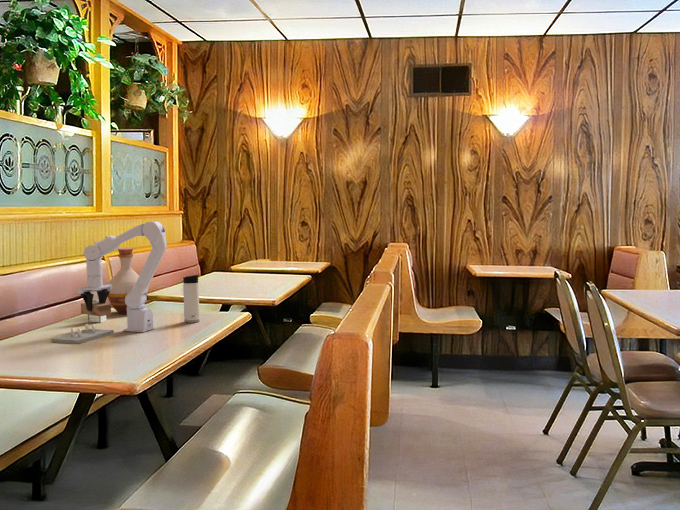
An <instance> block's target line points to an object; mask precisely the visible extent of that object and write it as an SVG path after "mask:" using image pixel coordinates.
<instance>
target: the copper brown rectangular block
mask: <svg viewBox="0 0 680 510" xmlns="http://www.w3.org/2000/svg"><path fill="white" fill-rule="evenodd" d="M80 314H83V315H87V316H88V315H95V316H105V315H106V316H111V315H112V305H111V304H110V303H106V304H104V303H96V302H92V311H88V310H87V307H86V304H85V302H84V303H83V302H81V303H80Z"/></svg>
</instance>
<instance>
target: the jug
mask: <svg viewBox="0 0 680 510" xmlns="http://www.w3.org/2000/svg"><path fill="white" fill-rule="evenodd" d="M133 250H134V248H133V247H132V246H131V247H130V246H129V247H128V246H127V247H125V246H124V247H119V248H118V249H117V251H118V255H117V257H118V258H119V262H120V269H119V270H118V271H117V273H115V275H113V277H112V278H111V279H110V280H109V281H108V282H107V284H106V285H108V284H109V285H112V289H111V290H108V291H110V293H109V295H108V297H107V300H109V301H108V302H109V304H111V307H112V308H113V310H115V312H117V313H118V314H119V315H127V307H128V306H127V305H126V304H125V297H126V295H127V294H129V293H130V292H131V290H132V288H133V287H134V285H135V284H136V282H137V280H138V278H139V276H140V274H138V273H137V272H136V271H135V270H134V269H133V268H132V259H133V257H134V253H133V252H134V251H133Z"/></svg>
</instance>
